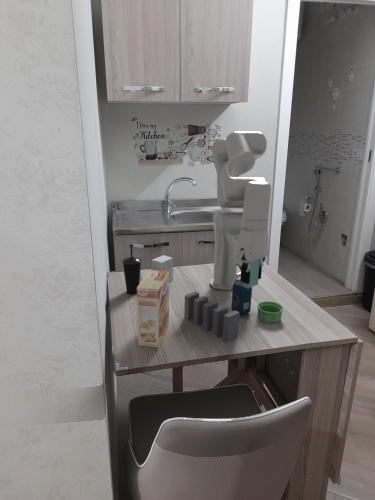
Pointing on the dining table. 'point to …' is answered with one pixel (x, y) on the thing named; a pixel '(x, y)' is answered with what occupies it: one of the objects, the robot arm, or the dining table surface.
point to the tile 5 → (219, 320)
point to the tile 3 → (199, 310)
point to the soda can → (241, 298)
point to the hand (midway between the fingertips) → (250, 279)
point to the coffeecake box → (153, 308)
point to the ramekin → (269, 311)
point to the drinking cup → (132, 273)
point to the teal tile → (253, 274)
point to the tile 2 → (190, 305)
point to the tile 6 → (230, 326)
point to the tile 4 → (209, 314)
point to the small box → (163, 265)
